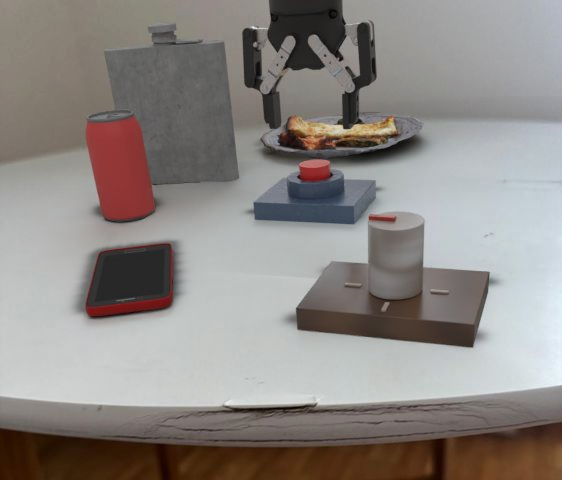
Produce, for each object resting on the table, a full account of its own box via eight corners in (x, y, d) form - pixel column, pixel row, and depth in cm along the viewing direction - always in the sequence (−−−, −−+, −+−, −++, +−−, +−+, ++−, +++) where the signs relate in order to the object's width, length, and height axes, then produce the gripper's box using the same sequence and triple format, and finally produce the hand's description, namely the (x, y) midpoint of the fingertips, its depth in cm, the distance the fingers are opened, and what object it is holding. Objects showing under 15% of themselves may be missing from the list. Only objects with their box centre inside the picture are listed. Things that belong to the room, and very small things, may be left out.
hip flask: (126, 186, 98) (96, 29, 88) (135, 178, 101) (106, 26, 91) (236, 182, 96) (219, 20, 85) (241, 173, 99) (225, 17, 89)
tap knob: (428, 280, 58) (430, 209, 55) (414, 302, 55) (416, 228, 51) (377, 275, 60) (377, 206, 56) (361, 296, 56) (360, 224, 53)
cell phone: (173, 250, 74) (171, 241, 74) (173, 308, 62) (171, 298, 61) (100, 259, 74) (98, 250, 73) (85, 319, 61) (83, 309, 61)
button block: (376, 197, 85) (375, 164, 83) (354, 225, 77) (353, 189, 75) (284, 194, 89) (281, 163, 87) (254, 220, 81) (251, 186, 79)
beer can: (138, 224, 83) (118, 120, 77) (92, 222, 85) (69, 120, 79) (165, 207, 88) (148, 108, 82) (121, 205, 90) (102, 108, 84)
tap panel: (488, 292, 60) (490, 269, 59) (473, 348, 52) (475, 322, 51) (332, 280, 64) (331, 259, 63) (296, 330, 57) (295, 306, 55)
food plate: (242, 164, 104) (239, 140, 102) (286, 129, 122) (285, 108, 120) (410, 164, 96) (411, 138, 95) (430, 126, 115) (431, 104, 113)
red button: (334, 174, 82) (333, 159, 81) (325, 183, 79) (324, 167, 78) (305, 173, 83) (304, 159, 82) (295, 182, 80) (294, 167, 79)
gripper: (223, -35, 68) (240, 135, 77) (364, -46, 64) (366, 136, 72) (251, -37, 74) (264, 121, 83) (382, -48, 70) (381, 120, 78)
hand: (311, 127), depth 77 cm, fingers open, 8 cm apart
